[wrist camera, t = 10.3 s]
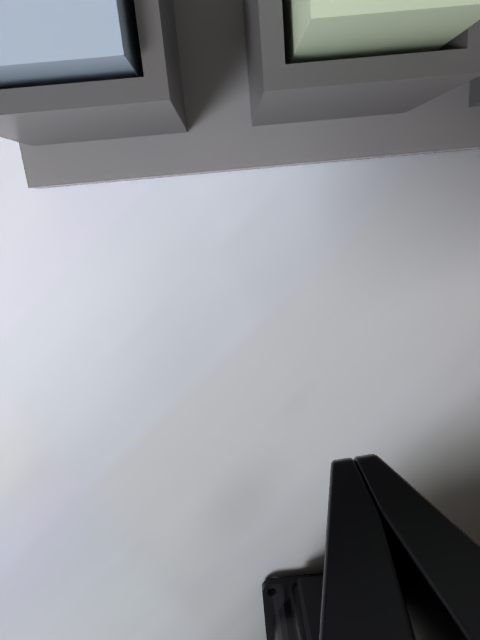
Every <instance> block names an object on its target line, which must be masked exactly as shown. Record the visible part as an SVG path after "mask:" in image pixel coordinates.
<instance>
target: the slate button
mask: <svg viewBox="0 0 480 640" xmlns="http://www.w3.org/2000/svg"><path fill="white" fill-rule="evenodd" d="M136 77H144V73H143V65H142V58H141V50H140V43H139V35H138V27H137V20H136V12H135V5H134V0H0V89H11V88H22V87H34V86H45V85H56V84H68V83H79V82H90V81H102V80H113V79H124V78H136Z"/></svg>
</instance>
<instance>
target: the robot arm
mask: <svg viewBox="0 0 480 640" xmlns="http://www.w3.org/2000/svg"><path fill="white" fill-rule="evenodd" d="M271 588H273V589H271ZM262 592H263V603H264V614H265V625H266V635H267V640H480V546H479V545H478V544H477V543H476V542H475V541H474V540H473V539H471V538H470V537H469V536H468V535H467V534H466V533H465V532H463V531H462V530H461V529H460V528H459V527H458V526H457V525H455V524H454V523H453V522H452V521H451V520H450V519H449V518H448V517H446V516H445V515H444V514H443V513H442V512H441V511H440V510H438V509H437V508H436V507H435V506H434V505H433V504H432V503H431V502H429V501H428V500H427V499H426V498H425V497H424V496H423V495H421V494H420V493H419V492H418V491H417V490H416V489H415V488H413V487H412V486H411V485H410V484H409V483H408V482H407V481H406V480H404V479H403V478H402V477H401V476H400V475H399V474H398V473H396V472H395V471H394V470H393V469H392V468H391V467H390V466H389V465H387V464H386V463H385V462H384V461H383V460H382V459H381V458H379V457H378V456H377V455H374V454H369V455H363V456H357V457H355V458H354V460H353V459H352V458H345V459H338V460H334V461H332V463H331V472H330V487H329V502H328V516H327V531H326V546H325V561H324V573H321V574H311V575H301V576H291V577H281V578H271V579H267V580H265V581H264V582H263V584H262Z"/></svg>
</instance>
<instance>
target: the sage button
mask: <svg viewBox="0 0 480 640" xmlns="http://www.w3.org/2000/svg"><path fill="white" fill-rule="evenodd" d="M282 11H283V30H284V49H285V64H294V63H306V62H317V61H328V60H340V59H351V58H362V57H374V56H385V55H396V54H408V53H419V52H430V51H437V50H438V49H439V48H441V47H442V46H444V45H445V44H446V43H448V42H449V41H451V40H452V39H453V38H455V37H456V36H458V35H459V34H460V33H462V32H463V31H465V30H466V29H467V28H469V27H470V26H472V25H473V24H474V23H476V22H477V21H479V20H480V0H282Z"/></svg>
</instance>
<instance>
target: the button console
mask: <svg viewBox="0 0 480 640" xmlns="http://www.w3.org/2000/svg"><path fill="white" fill-rule="evenodd" d="M134 5H135V12H136V20H137V27H138V35H139V43H140V50H141V58H142V65H143V73H144V77H136V78H124V79H113V80H102V81H90V82H79V83H68V84H56V85H45V86H34V87H22V88H11V89H0V137H3V138H6V139H10V140H13V141H17V142H19V145H20V150H21V155H22V160H23V164H24V169H25V174H26V179H27V183H28V188H49V187H60V186H71V185H82V184H94V183H105V182H116V181H127V180H138V179H149V178H160V177H171V176H182V175H193V174H204V173H215V172H226V171H237V170H249V169H260V168H271V167H282V166H293V165H304V164H315V163H326V162H337V161H348V160H359V159H370V158H381V157H393V156H404V155H415V154H426V153H437V152H448V151H459V150H470V149H480V20H479V21H477V22H476V23H474V24H473V25H472V26H470V27H469V28H467V29H466V30H465V31H463V32H462V33H460V34H459V35H458V36H456V37H455V38H453V39H452V40H451V41H449V42H448V43H446V44H445V45H444V46H442V47H441V48H439V49H438V50H437V51H430V52H419V53H408V54H396V55H385V56H374V57H362V58H351V59H340V60H328V61H317V62H306V63H294V64H285V49H284V30H283V11H282V0H134Z"/></svg>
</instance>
